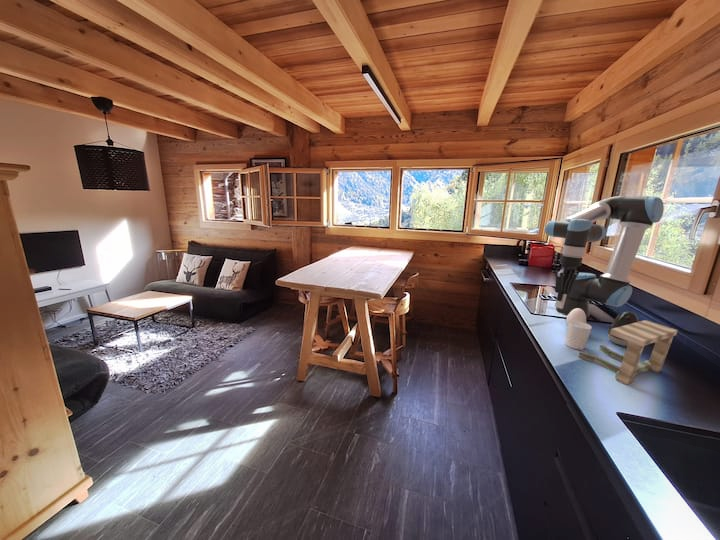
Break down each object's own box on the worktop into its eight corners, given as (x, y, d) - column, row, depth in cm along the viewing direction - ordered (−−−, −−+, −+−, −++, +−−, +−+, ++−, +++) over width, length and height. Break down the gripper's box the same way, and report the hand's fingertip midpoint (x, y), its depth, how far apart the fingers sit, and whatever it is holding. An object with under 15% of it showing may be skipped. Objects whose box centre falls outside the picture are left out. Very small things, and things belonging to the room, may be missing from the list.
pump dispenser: (604, 343, 126) (614, 311, 122) (606, 335, 133) (615, 305, 129) (636, 352, 119) (647, 319, 115) (635, 343, 127) (646, 312, 123)
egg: (562, 330, 136) (567, 307, 133) (566, 326, 141) (572, 304, 138) (580, 336, 131) (587, 312, 128) (584, 332, 136) (591, 309, 133)
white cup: (565, 339, 128) (570, 318, 125) (587, 346, 122) (593, 325, 120) (561, 345, 122) (566, 323, 120) (584, 352, 117) (590, 330, 114)
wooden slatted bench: (605, 347, 122) (616, 310, 118) (662, 371, 106) (677, 330, 102) (571, 357, 112) (581, 318, 108) (628, 386, 96) (643, 341, 92)
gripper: (571, 253, 127) (559, 303, 133) (553, 254, 122) (541, 305, 127) (590, 257, 120) (576, 309, 126) (571, 258, 115) (558, 312, 121)
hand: (558, 307), depth 127 cm, fingers closed
